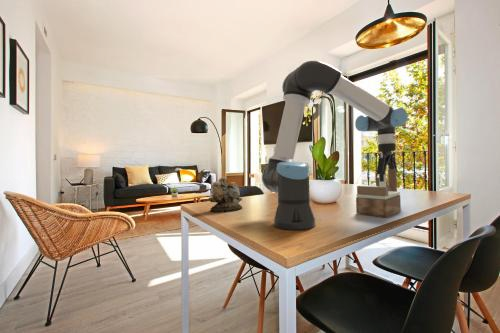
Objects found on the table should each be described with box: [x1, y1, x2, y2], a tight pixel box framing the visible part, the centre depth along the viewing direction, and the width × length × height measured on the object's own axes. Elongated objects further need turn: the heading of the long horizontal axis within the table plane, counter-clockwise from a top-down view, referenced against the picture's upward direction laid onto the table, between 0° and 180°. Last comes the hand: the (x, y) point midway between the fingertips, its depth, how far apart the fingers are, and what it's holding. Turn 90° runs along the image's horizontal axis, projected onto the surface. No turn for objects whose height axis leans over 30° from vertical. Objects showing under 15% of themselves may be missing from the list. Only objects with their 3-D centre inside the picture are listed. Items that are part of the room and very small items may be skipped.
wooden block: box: [376, 168, 398, 192], centre depth 123 cm, size 4×11×18 cm, turn 114°
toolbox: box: [355, 194, 402, 218], centre depth 110 cm, size 12×17×7 cm
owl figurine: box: [208, 176, 243, 214], centre depth 129 cm, size 18×12×17 cm, turn 121°
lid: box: [355, 185, 401, 200], centre depth 110 cm, size 12×17×5 cm
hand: (388, 187), depth 123 cm, fingers open, 13 cm apart
